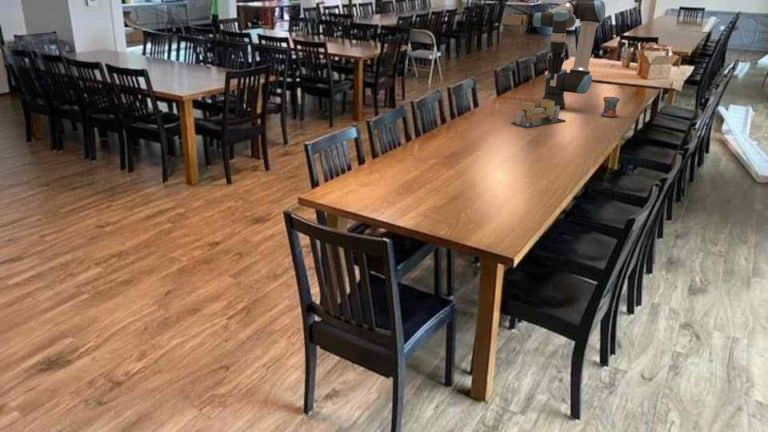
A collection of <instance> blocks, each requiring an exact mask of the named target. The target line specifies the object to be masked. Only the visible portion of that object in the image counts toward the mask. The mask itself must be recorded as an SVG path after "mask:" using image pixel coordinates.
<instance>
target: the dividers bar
mask: <svg viewBox="0 0 768 432" xmlns="http://www.w3.org/2000/svg"><path fill="white" fill-rule="evenodd" d="M520 109H521V110H517V111H516V117H515V119H516V120H515V121H516V124H519V125H520V124H522V123H523V120H530V123H531V124H532V120H534V117H533V114H538V113H539V114H540V112H545V111H546V107H542V108H541V107H536V103H533V102H530V101H523V102H521V106H520ZM552 115H553V117H552V118H555V119H557V118H559V117H560V106H558V105H554V107H553V108H552ZM559 119H560V118H559Z"/></svg>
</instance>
